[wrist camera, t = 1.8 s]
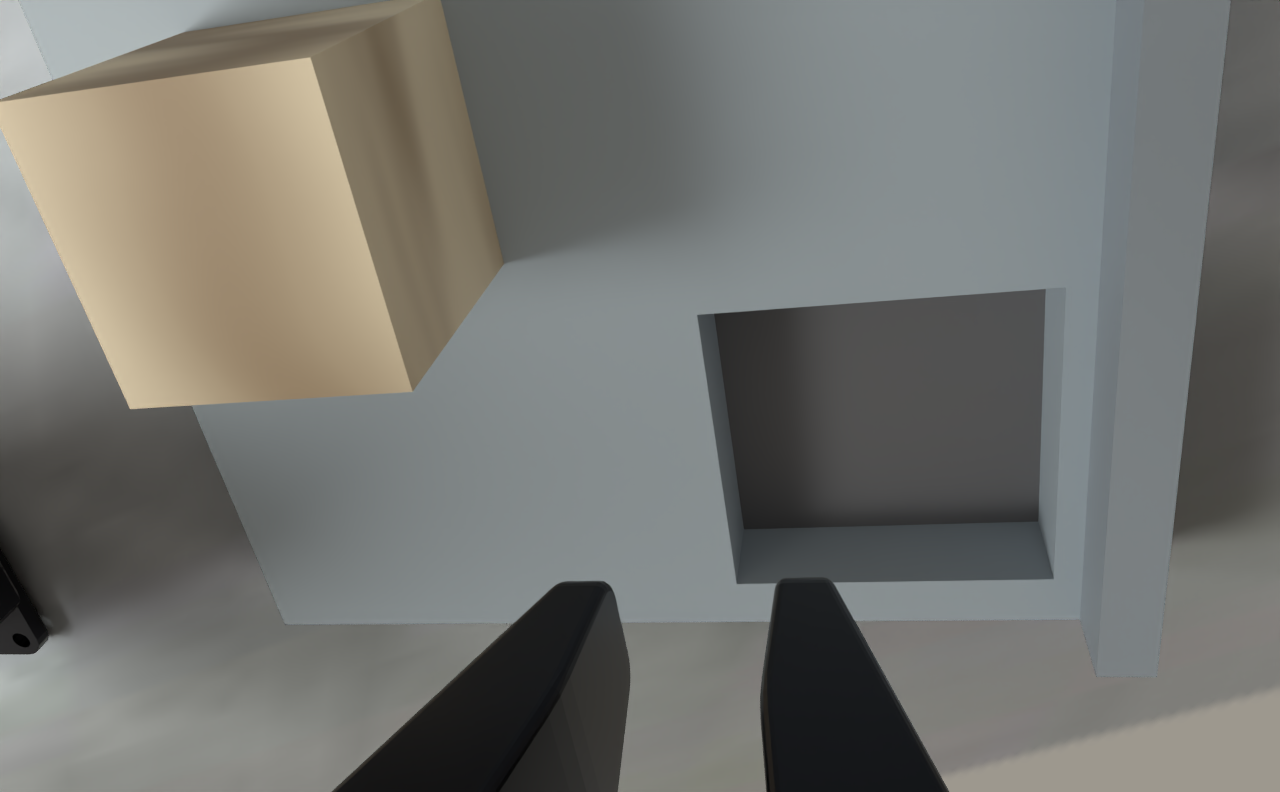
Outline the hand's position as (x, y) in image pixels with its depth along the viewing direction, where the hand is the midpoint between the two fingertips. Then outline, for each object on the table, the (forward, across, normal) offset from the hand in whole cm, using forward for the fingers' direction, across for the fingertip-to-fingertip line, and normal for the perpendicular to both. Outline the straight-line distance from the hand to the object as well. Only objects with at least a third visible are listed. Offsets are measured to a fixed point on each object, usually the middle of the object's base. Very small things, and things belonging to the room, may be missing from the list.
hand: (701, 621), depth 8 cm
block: (+10, +7, -2) cm, 12 cm away
